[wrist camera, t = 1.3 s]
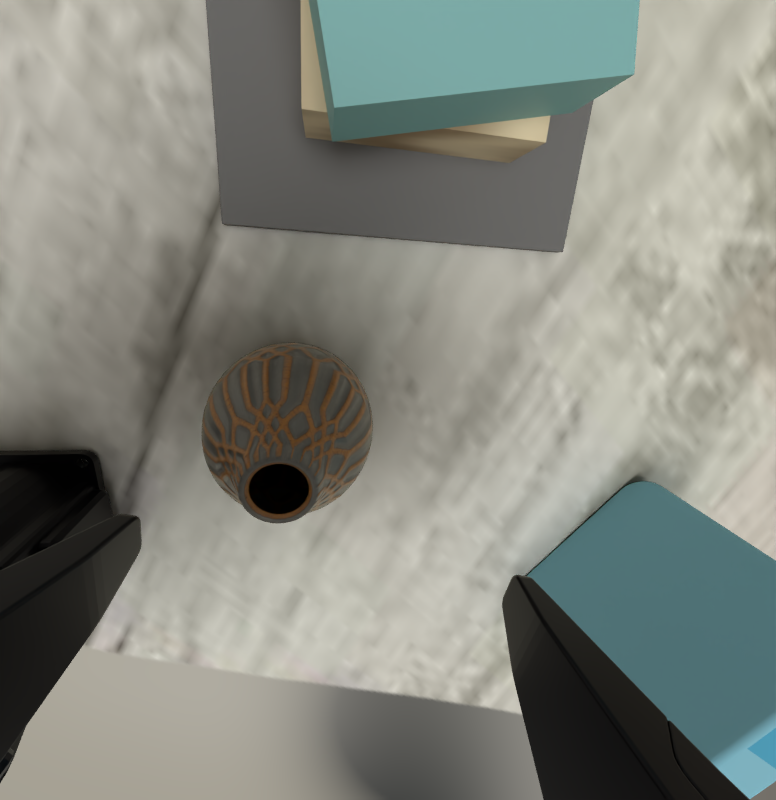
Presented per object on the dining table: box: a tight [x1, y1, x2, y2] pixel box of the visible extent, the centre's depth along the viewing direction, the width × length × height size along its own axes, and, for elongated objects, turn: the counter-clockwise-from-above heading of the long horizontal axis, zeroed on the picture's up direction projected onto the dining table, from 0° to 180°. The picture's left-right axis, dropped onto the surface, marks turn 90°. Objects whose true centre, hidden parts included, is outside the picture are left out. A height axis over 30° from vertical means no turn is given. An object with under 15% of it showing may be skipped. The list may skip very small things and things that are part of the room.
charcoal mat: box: [206, 0, 593, 252], centre depth 15 cm, size 16×16×1 cm
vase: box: [202, 343, 373, 523], centre depth 15 cm, size 7×7×9 cm
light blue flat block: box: [527, 481, 776, 799], centre depth 21 cm, size 12×4×12 cm, turn 137°
